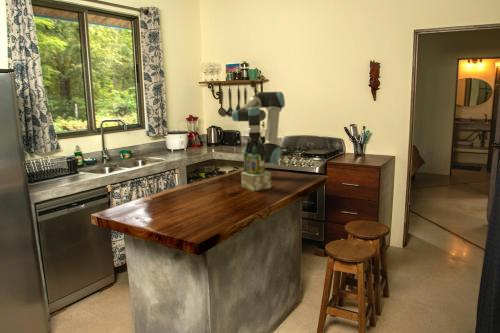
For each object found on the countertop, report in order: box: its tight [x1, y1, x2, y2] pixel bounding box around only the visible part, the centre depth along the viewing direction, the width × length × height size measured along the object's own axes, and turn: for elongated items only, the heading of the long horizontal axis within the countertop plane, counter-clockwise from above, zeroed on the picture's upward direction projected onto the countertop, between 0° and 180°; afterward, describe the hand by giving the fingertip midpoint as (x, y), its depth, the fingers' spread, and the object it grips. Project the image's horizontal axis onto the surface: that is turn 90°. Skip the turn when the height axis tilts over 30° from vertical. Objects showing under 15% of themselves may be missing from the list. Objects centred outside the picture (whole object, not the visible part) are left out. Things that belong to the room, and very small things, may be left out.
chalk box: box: [246, 150, 266, 174], centre depth 255 cm, size 9×9×15 cm
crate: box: [240, 173, 272, 192], centre depth 257 cm, size 14×14×9 cm
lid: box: [240, 171, 272, 177], centre depth 256 cm, size 14×14×1 cm
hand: (255, 164), depth 255 cm, fingers open, 13 cm apart
